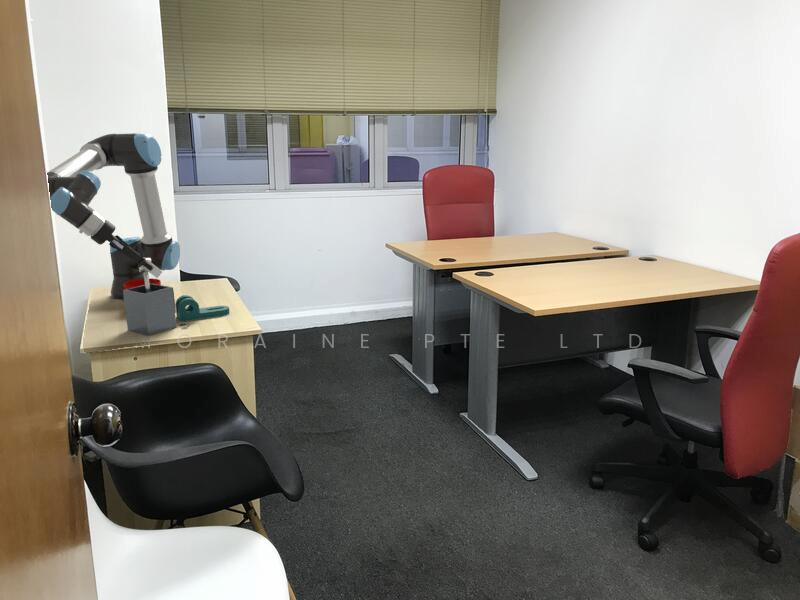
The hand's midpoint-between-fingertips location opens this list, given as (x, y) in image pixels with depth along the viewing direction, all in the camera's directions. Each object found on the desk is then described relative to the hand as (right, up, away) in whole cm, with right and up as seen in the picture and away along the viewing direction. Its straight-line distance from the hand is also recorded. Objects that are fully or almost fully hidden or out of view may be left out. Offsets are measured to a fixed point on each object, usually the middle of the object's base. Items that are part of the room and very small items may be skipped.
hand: (158, 273), depth 210 cm
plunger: (-3, -12, +1) cm, 13 cm away
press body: (-2, -18, +4) cm, 19 cm away
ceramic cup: (-14, -12, +28) cm, 34 cm away
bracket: (+10, -15, +18) cm, 25 cm away
